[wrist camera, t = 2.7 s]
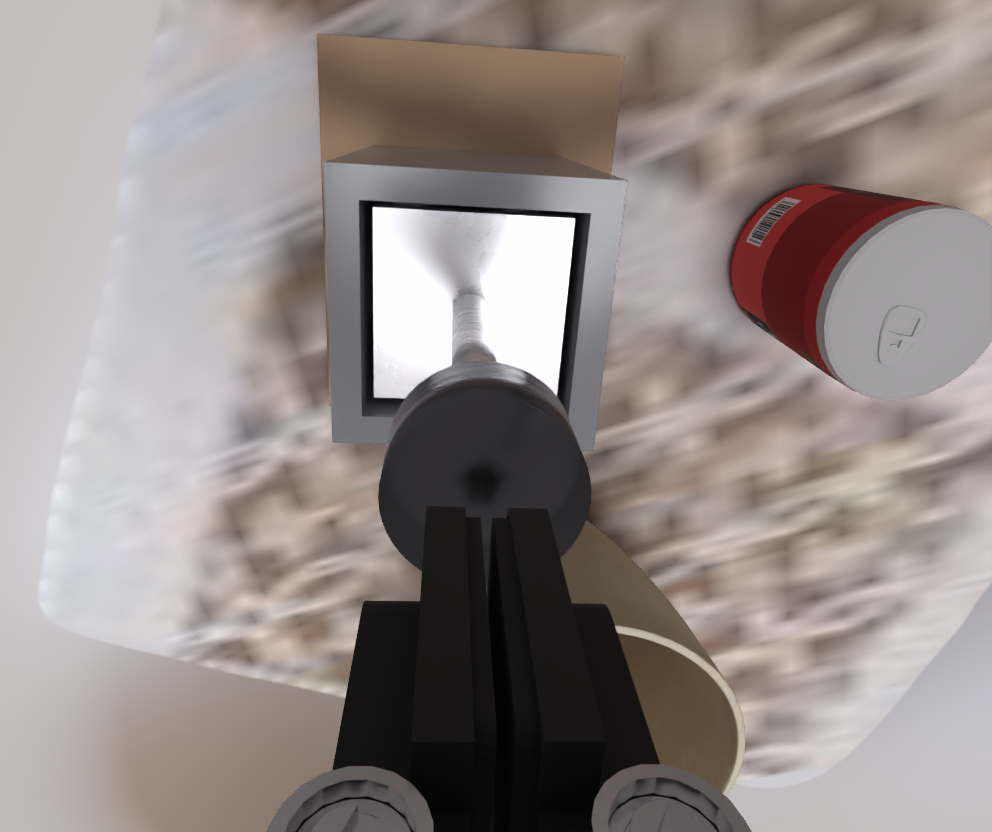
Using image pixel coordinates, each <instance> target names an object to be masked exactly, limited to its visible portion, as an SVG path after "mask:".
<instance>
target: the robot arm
mask: <svg viewBox="0 0 992 832" xmlns="http://www.w3.org/2000/svg"><path fill="white" fill-rule="evenodd" d="M267 832H751V830H750V828H749V827H748V825H747V823H746V821H745V820H744V818H743V817H742V816H741V814H740V813H739V812H738V811H737V809H736V808H735V807H734V805H733V804H732V803H731V801H730V800H729V799H728V798H727V797H726V796H725V795H723V794H722V793H721V792H720V791H719V790H717V789H716V788H715V787H714V786H713V785H711V784H710V783H709V782H707V781H705V780H704V779H702V778H700V777H698V776H696V775H694V774H692V773H690V772H688V771H686V770H682V769H678V768H675V767H671V766H667V765H663V764H660V761H659V758H658V755H657V752H656V749H655V746H654V743H653V740H652V737H651V734H650V731H649V728H648V725H647V722H646V719H645V716H644V713H643V710H642V707H641V704H640V701H639V698H638V694H637V691H636V688H635V685H634V682H633V679H632V676H631V673H630V670H629V667H628V664H627V661H626V658H625V655H624V652H623V649H622V646H621V643H620V640H619V637H618V634H617V631H616V627H615V624H614V621H613V618H612V615H611V613H610V611H609V608H608V607H607V606H606V605H605V604H580V603H571V599H570V595H569V591H568V587H567V583H566V579H565V575H564V571H563V567H562V563H561V559H560V555H559V551H558V547H557V543H556V540H555V536H554V532H553V528H552V524H551V520H550V516H549V512H548V510H547V509H546V508H508V509H507V513H506V518H492V523H491V537H490V551H489V566H488V581H487V593H486V581H485V568H484V555H483V542H482V529H481V518H480V517H466V510H465V507H460V506H426V517H425V533H424V549H423V565H422V581H421V597H420V602H418V601H365V602H364V603H363V607H362V611H361V617H360V622H359V628H358V633H357V639H356V644H355V649H354V655H353V660H352V666H351V671H350V677H349V682H348V688H347V693H346V699H345V705H344V710H343V716H342V721H341V726H340V732H339V737H338V743H337V749H336V754H335V759H334V765H333V770H332V771H329V772H325V773H323V774H321V775H319V776H317V777H316V778H314V779H312V780H310V781H308V782H307V783H305V784H303V785H301V786H300V787H299V788H298V789H297V790H296V791H295V792H294V793H293V794H292V795H291V796H290V797H289V798H288V799H287V800H286V801H284V802H283V804H282V805H281V807H280V808H279V810H278V812H277V813H276V815H275V817H274V818H273V820H272V822H271V823H270V825H269V827H268V829H267Z"/></svg>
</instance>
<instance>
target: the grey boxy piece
mask: <svg viewBox="0 0 992 832" xmlns="http://www.w3.org/2000/svg"><path fill="white" fill-rule="evenodd" d="M323 163H324V194H325V225H326V256H327V287H328V318H329V349H330V380H331V412H332V442H338V443H370V444H388V440H389V435H390V430H391V426H392V422H393V420H394V417H395V415H396V412H397V411H398V409H399V407H400V405H401V403H402V402H403V401H404V399H402V398H375V397H374V338H373V206H374V205H375V204H383V205H400V206H418V207H435V208H453V209H470V210H487V211H505V212H522V213H540V214H557V215H571V216H573V217H574V218H575V225H574V234H573V244H572V254H571V263H570V273H569V283H568V293H567V302H566V312H565V322H564V332H563V341H562V351H561V361H560V371H559V380H558V390H557V397H558V399H559V400H560V402H561V403H562V405H563V407H564V408H565V411H566V413H567V415H568V418H569V420H570V423H571V426H572V428H573V431H574V433H575V436H576V439H577V441H578V444H579V447H580V449H581V450H588V451H593V448H594V440H595V432H596V424H597V416H598V409H599V401H600V393H601V385H602V378H603V370H604V362H605V354H606V346H607V339H608V331H609V323H610V315H611V307H612V300H613V292H614V284H615V276H616V269H617V261H618V253H619V245H620V237H621V230H622V222H623V214H624V206H625V198H626V191H627V183H628V181H627V180H624V179H621V178H619V177H616V176H613V175H610V174H608V173H605V172H602V171H599V170H597V169H594V168H591V167H588V166H586V165H583V164H580V163H577V162H575V161H572V160H569V159H566V158H563V157H556V156H540V155H524V154H508V153H493V152H477V151H461V150H446V149H430V148H414V147H399V146H383V145H372V146H370V147H367V148H364V149H361V150H358V151H355V152H352V153H349V154H346V155H343V156H340V157H337V158H334V159H331V160H328V161H325V162H323Z"/></svg>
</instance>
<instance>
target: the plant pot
mask: <svg viewBox="0 0 992 832" xmlns="http://www.w3.org/2000/svg"><path fill="white" fill-rule="evenodd" d="M560 559H561V563H562V567H563V571H564V575H565V579H566V583H567V587H568V591H569V595H570V599H571V603H580V604H605V605H606V606H607V607H608V608H609V611H610V613H611V615H612V618H613V621H614V624H615V627H616V631H617V634H618V637H619V640H620V643H621V646H622V649H623V652H624V655H625V658H626V661H627V664H628V667H629V670H630V673H631V676H632V679H633V682H634V685H635V688H636V691H637V694H638V698H639V701H640V704H641V707H642V710H643V713H644V716H645V719H646V722H647V725H648V728H649V731H650V734H651V737H652V740H653V743H654V746H655V749H656V752H657V755H658V758H659V761H660V764H663V765H667V766H671V767H675V768H678V769H682V770H686V771H688V772H690V773H692V774H694V775H696V776H698V777H700V778H702V779H704V780H705V781H707V782H709V783H710V784H711V785H713V786H714V787H715V788H716V789H717V790H719V791H720V792H721V793H722V794H723V795H725V796H726V797H727V796H728V794H729V792H730V791H731V789H732V787H733V785H734V783H735V781H736V779H737V777H738V775H739V772H740V769H741V766H742V762H743V756H744V750H745V726H744V721H743V716H742V712H741V709H740V706H739V704H738V701H737V699H736V697H735V695H734V693H733V691H732V689H731V688H730V686H729V685H728V683H727V682H726V681H725V679H724V678H723V676H722V675H721V673H720V672H719V670H718V669H717V667H716V666H715V664H714V663H713V661H712V660H711V658H710V657H709V655H708V654H707V652H706V651H705V650H704V648H703V647H702V645H701V644H700V642H699V641H698V640H697V638H696V637H695V635H694V634H693V632H692V631H691V630H690V628H689V627H688V625H687V624H686V622H685V621H684V620H683V618H682V617H681V616H680V615H679V613H678V612H677V611H676V609H675V608H674V607H673V606H672V604H671V603H670V602H669V600H668V599H667V598H666V597H665V596H664V594H663V593H662V592H661V591H660V590H659V589H658V587H657V586H656V585H655V584H654V583H653V582H652V581H651V580H650V578H649V577H648V576H647V575H646V574H645V573H644V572H643V571H642V570H641V568H640V567H639V566H638V565H637V564H636V563H635V562H634V561H633V560H632V559H631V558H630V557H629V556H628V555H627V554H626V553H625V552H624V551H623V550H622V549H620V548H619V547H618V546H617V545H616V544H615V543H614V542H613V541H612V540H611V539H609V538H608V537H607V536H606V535H605V534H604V533H602V532H601V531H600V530H599V529H597V528H596V527H595V526H593V525H592V524H591V523H590V522H588V521H587V520H586V522H585V525H584V527H583V529H582V531H581V533H580V535H579V536H578V538H577V539H576V541H575V542H574V544H573V545H572V546H571V548H570V549H569V550H568V551H567V552H566V553H565V554H564V555H563V556H562V557H561V558H560ZM486 593H487V587H486Z"/></svg>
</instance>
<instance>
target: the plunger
mask: <svg viewBox="0 0 992 832" xmlns="http://www.w3.org/2000/svg"><path fill="white" fill-rule="evenodd" d="M574 225H575V218H574V217H573V216H571V215H557V214H540V213H522V212H505V211H487V210H470V209H453V208H435V207H418V206H400V205H383V204H375V205H374V206H373V338H374V397H375V398H402V399H404V401H403V402H402V403H401V405H400V407H399V409H398V411H397V412H396V415H395V417H394V420H393V422H392V426H391V430H390V435H389V440H388V445H387V449H386V454H385V459H384V464H383V469H382V474H381V479H380V484H379V496H378V498H379V510H380V514H381V518H382V522H383V525H384V527H385V530H386V532H387V534H388V536H389V537H390V539H391V541H392V543H393V544H394V545H395V547H396V548H397V549H398V551H399V552H400V553H401V554H402V555H403V556H404V557H405V558H406V559H407V560H408V561H409V562H410V563H412V564H413V565H414V566H416V567H417V568H418V569H420V570H422V565H423V549H424V533H425V517H426V506H460V507H465V510H466V517H480V518H481V529H482V542H483V555H484V568H485V581H486V587H487V581H488V566H489V551H490V537H491V523H492V518H506V513H507V509H508V508H546V509H547V510H548V512H549V516H550V520H551V524H552V528H553V532H554V536H555V540H556V543H557V547H558V551H559V555H560V558H561V557H562V556H563V555H564V554H565V553H566V552H567V551H568V550H569V549H570V548H571V546H572V545H573V544H574V542H575V541H576V539H577V538H578V536H579V535H580V533H581V531H582V529H583V527H584V525H585V522H586V519H587V516H588V513H589V508H590V503H591V483H590V476H589V472H588V468H587V465H586V462H585V460H584V457H583V454H582V452H581V449H580V447H579V444H578V441H577V439H576V436H575V433H574V431H573V428H572V426H571V423H570V420H569V418H568V415H567V413H566V411H565V408H564V407H563V405H562V403H561V402H560V400H559V399H558V397H557V390H558V380H559V371H560V361H561V351H562V341H563V332H564V322H565V312H566V302H567V293H568V283H569V273H570V263H571V254H572V244H573V234H574Z"/></svg>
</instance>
